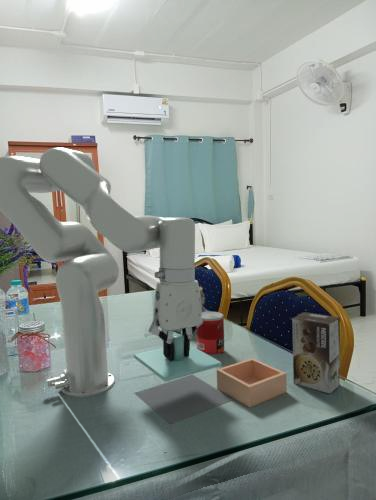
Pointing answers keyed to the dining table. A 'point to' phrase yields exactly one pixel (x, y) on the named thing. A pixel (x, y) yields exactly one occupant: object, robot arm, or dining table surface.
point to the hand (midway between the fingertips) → (176, 356)
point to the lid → (176, 361)
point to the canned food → (211, 333)
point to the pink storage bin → (251, 382)
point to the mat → (182, 398)
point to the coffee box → (316, 351)
